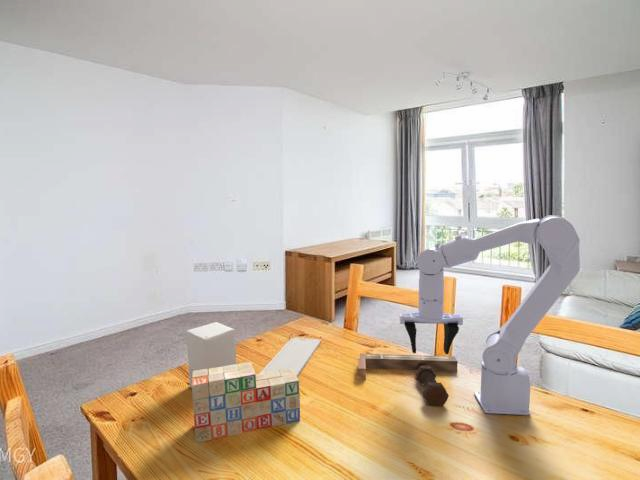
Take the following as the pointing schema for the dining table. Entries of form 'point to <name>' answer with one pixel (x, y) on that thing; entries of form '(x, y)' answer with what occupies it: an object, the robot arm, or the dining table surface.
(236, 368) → the stack of blocks
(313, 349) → the baseboard molding
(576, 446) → the dining table surface
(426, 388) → the bolt
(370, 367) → the walnut fence
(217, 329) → the supplement box
